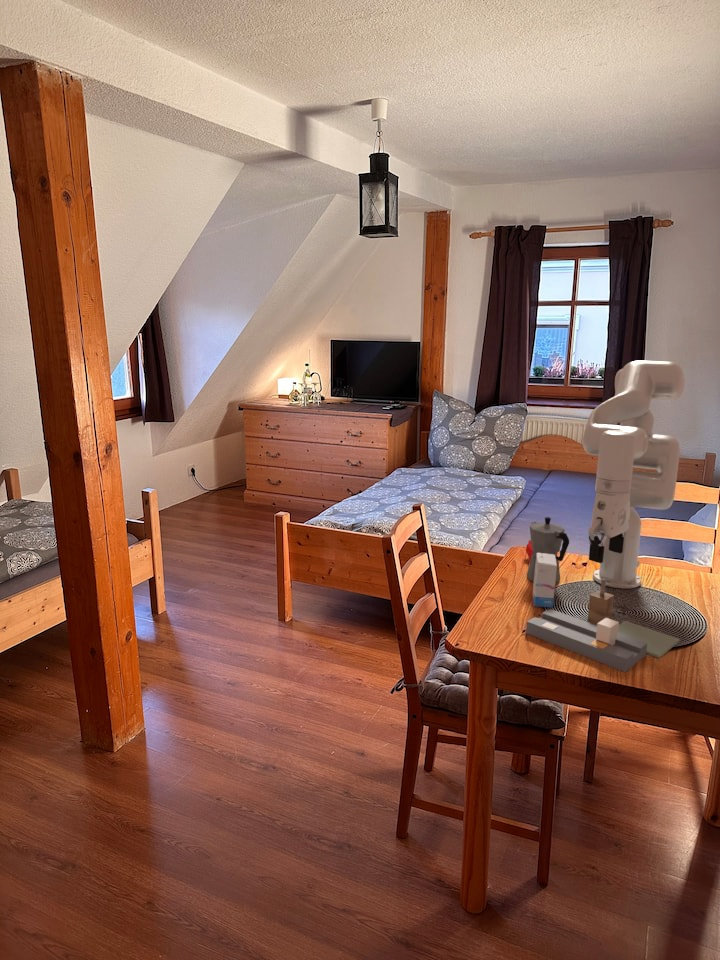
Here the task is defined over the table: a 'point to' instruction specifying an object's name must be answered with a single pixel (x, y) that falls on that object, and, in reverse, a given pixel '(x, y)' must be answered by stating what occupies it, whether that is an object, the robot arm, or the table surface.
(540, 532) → the coffeepot
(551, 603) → the ink box
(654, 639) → the mat
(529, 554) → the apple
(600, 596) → the brown block
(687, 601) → the table surface
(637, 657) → the switch panel
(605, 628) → the switch tab
